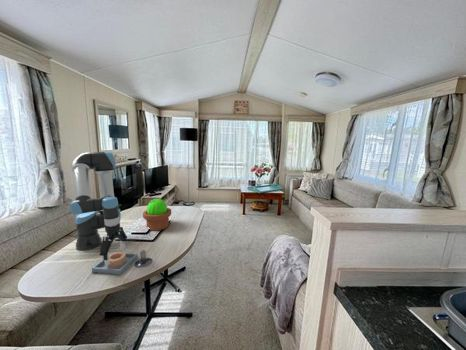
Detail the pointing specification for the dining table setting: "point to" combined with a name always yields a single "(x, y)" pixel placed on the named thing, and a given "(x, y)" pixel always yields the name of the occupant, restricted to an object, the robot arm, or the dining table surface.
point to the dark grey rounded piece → (143, 260)
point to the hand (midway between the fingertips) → (115, 257)
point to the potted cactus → (157, 214)
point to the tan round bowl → (117, 260)
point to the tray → (104, 269)
